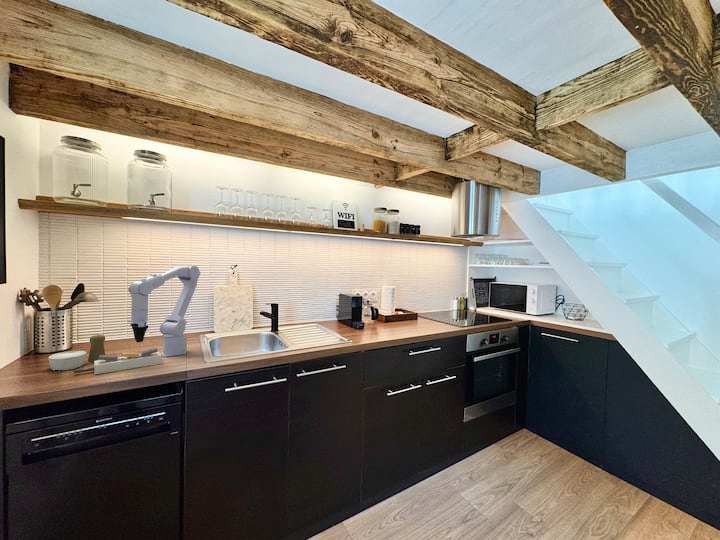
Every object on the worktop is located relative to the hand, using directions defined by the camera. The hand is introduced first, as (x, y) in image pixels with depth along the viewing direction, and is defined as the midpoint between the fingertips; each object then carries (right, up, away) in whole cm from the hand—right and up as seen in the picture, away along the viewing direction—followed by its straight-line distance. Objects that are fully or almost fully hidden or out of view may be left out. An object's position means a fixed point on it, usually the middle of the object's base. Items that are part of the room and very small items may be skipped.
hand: (138, 340), depth 126 cm
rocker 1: (-8, -6, -7) cm, 12 cm away
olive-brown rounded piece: (-21, -10, +4) cm, 24 cm away
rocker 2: (+3, -7, +3) cm, 8 cm away
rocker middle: (-2, -6, -2) cm, 7 cm away
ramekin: (-25, -10, -5) cm, 28 cm away
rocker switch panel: (-5, -10, -4) cm, 12 cm away
